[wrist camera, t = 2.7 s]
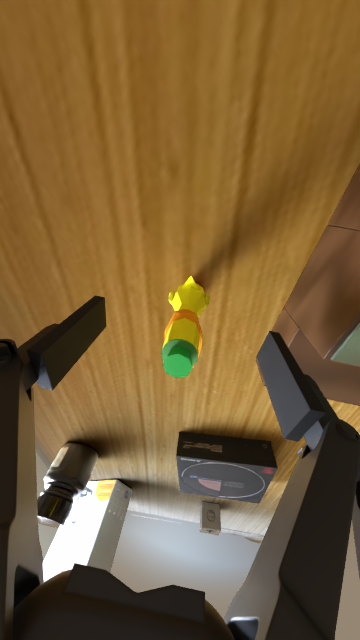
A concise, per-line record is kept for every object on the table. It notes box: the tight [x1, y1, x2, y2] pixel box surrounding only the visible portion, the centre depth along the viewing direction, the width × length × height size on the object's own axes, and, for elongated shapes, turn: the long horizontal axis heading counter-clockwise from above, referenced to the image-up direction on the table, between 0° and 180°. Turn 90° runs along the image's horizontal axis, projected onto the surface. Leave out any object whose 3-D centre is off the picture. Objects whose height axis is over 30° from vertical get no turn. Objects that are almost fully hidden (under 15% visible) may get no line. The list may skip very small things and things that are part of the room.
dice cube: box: [200, 502, 221, 535], centre depth 52 cm, size 5×5×5 cm
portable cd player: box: [176, 432, 278, 503], centre depth 37 cm, size 16×17×4 cm
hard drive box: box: [43, 480, 132, 582], centre depth 47 cm, size 16×8×20 cm, turn 120°
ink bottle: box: [37, 443, 98, 528], centre depth 40 cm, size 10×9×12 cm
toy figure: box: [161, 276, 209, 378], centre depth 15 cm, size 7×4×12 cm, turn 178°
